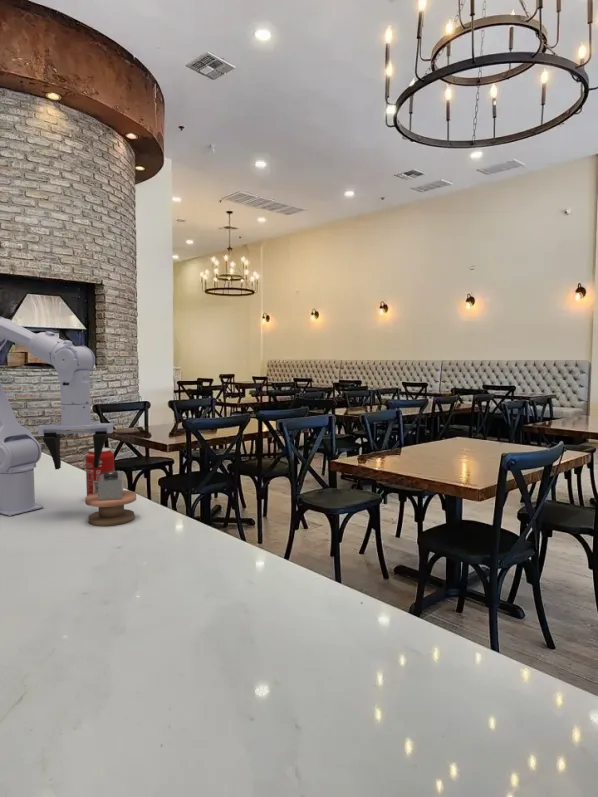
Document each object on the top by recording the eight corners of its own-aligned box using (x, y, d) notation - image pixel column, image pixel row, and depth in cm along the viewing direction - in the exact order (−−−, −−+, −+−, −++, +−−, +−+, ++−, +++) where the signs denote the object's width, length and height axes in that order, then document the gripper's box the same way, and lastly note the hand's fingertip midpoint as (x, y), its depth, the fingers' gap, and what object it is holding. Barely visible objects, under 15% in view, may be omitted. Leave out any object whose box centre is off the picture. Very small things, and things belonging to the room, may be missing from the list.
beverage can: (119, 496, 132) (118, 447, 132) (107, 502, 126) (106, 451, 125) (94, 495, 133) (93, 447, 132) (81, 502, 127) (80, 451, 126)
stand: (75, 521, 111) (74, 497, 111) (115, 510, 120) (114, 488, 119) (107, 529, 106) (107, 504, 106) (146, 517, 114) (146, 493, 114)
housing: (98, 500, 108) (97, 476, 108) (101, 492, 115) (100, 469, 115) (122, 499, 110) (121, 474, 109) (123, 491, 116) (122, 468, 116)
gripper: (114, 401, 119) (115, 462, 120) (43, 402, 116) (45, 465, 117) (110, 404, 112) (111, 469, 113) (34, 405, 109) (36, 472, 110)
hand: (77, 467), depth 115 cm, fingers open, 7 cm apart
